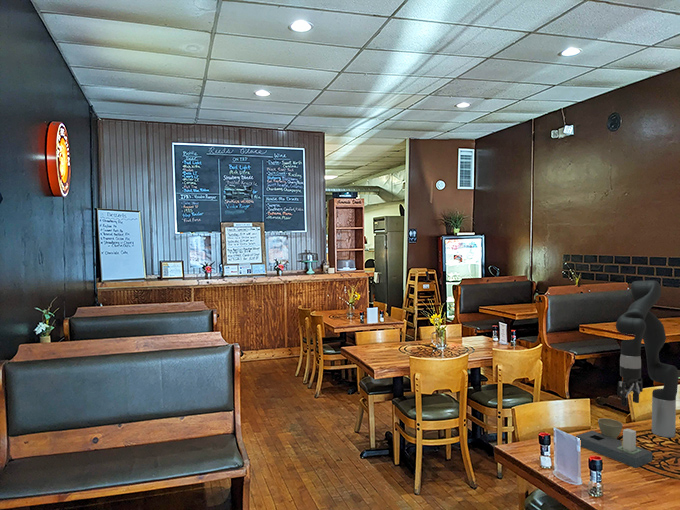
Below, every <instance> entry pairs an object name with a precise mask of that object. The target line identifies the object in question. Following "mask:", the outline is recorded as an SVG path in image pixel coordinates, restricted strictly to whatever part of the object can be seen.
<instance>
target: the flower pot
mask: <svg viewBox="0 0 680 510" xmlns="http://www.w3.org/2000/svg"><path fill="white" fill-rule="evenodd" d="M597 422H598V423H597V424H598V428H599V430H600V433H601V434H603V435H606V436H609V437H612V438H615V439H617V438H618V437H619V436H620V435H621V433H622V431H623V423H622V422H620V421H619V420H616V419H613V418H603V417H601V418H598V419H597Z"/></svg>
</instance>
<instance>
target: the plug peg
mask: <svg viewBox="0 0 680 510" xmlns="http://www.w3.org/2000/svg"><path fill="white" fill-rule="evenodd" d="M621 441H622V446H623V449H624V450H627V451H629V452H634V451H636V446H637V431H636V430H634V429H630V428H625V429H622V440H621Z"/></svg>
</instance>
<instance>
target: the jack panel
mask: <svg viewBox="0 0 680 510" xmlns="http://www.w3.org/2000/svg"><path fill="white" fill-rule="evenodd" d="M576 437H578V438H580V440H581V446H580V447H581V448H584V449H586V450H589V451H591V452H594V453H597V454H599V455H601V456H604V457H606V458H609V459H612V460H614V461H616V462H620V463H622V464H624V465H626V466H629V467H631V468H634V469H637V468H640V467H642V466H645V465H647V464H649V463H652V462H653V451H651V450H648V449H645V448H643V447H640V446H637V445H636V451H634V452H629V451H627V450H624V449H623V446H622V441H623V440H620V439H617V438H616V439H615V438H612V437H609V436H606V435H603V434H602V433H601V432H597V431H596V430H589V431H587V432H583V433H581V434H576V435H575V438H576Z"/></svg>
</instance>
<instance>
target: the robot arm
mask: <svg viewBox="0 0 680 510" xmlns="http://www.w3.org/2000/svg"><path fill="white" fill-rule="evenodd" d="M661 288H662V287H661V284H660V283H659V281H657V280H654V279H653V280H652V279H651V280H635V281H632V282H631V284H630V293H631V296H632V300H633V302H632V303H631V304H630V306H628V309H627V311H626V312H624V313H623V314H622V315H620V316H619V317H618V319H617V320H616V322H615V328H616V330H617V332H618V333H619V334H623V335H630V336H631V335H632V336H634V338H632V339H623V340H621V343H620V357H619V375H620V377H622V380H618V381H617V393H616V395H617V396H619V397H620V406H621V407H628V397H629V394H631V393H632V402H633V403H636V404H639V403H640V395H641V393H643V391H644V390H643V384H644V383H643V377H642V358H641V357H642V356H641V355H642V354H641V349H642V341H643V345H644V350H645V355H646V357H645V358H646V365H647V373H648V377H649V378H650V380H651V381H654V382H655V383H659V384H660V383H661V384H663V388H656V389H653V390H652V393H651V396H652V398H651V401H652V403H651V433H652V434H654V435H656V436H659V437H664V438H675V437H676V423H677V422H676V420H677V418H676V416H677V415H676V413H677V410H676V409H677V408H676V406H677V402H676V401H677V396H678V395H677V394H678V386H679V370H678V368H677V367H676V366H675V365H672V364H669V363H668V364H667V363H664V362H661V361H660V352H661V350H662V348H663V347H664V345H665V343H666V340H667V336H666V331H665V326H664V324H663V323H662V322H663V321H661V320H660V319H659V318H658V317H657V316H656V315H655V314H654V313H652V311H651V308H652V307H653V306H655V304H656V303H657V302H658V301H659V300H660V298H661V296H662V289H661Z"/></svg>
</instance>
